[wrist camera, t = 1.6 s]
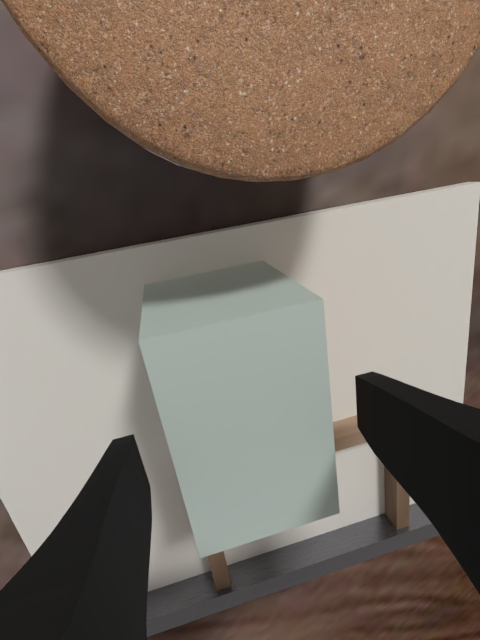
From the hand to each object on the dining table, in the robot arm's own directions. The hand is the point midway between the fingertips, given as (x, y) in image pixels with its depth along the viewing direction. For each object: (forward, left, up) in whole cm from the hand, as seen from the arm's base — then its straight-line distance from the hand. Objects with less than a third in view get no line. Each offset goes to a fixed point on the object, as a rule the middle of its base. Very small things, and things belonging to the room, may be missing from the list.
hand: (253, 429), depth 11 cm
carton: (0, 0, -6) cm, 6 cm away
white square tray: (+1, -5, -6) cm, 8 cm away
